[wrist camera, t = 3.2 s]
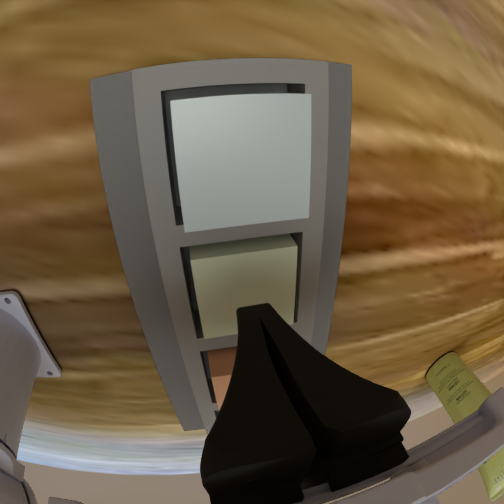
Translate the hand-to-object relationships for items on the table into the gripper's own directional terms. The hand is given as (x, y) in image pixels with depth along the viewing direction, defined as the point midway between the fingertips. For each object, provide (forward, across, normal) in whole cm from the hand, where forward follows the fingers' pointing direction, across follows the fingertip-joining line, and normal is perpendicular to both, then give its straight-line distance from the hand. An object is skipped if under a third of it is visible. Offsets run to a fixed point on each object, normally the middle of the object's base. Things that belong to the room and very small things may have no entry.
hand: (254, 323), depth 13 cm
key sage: (+4, 0, 0) cm, 4 cm away
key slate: (+3, 0, -6) cm, 7 cm away
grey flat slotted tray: (+6, 0, +3) cm, 6 cm away
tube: (+6, -24, +19) cm, 31 cm away
